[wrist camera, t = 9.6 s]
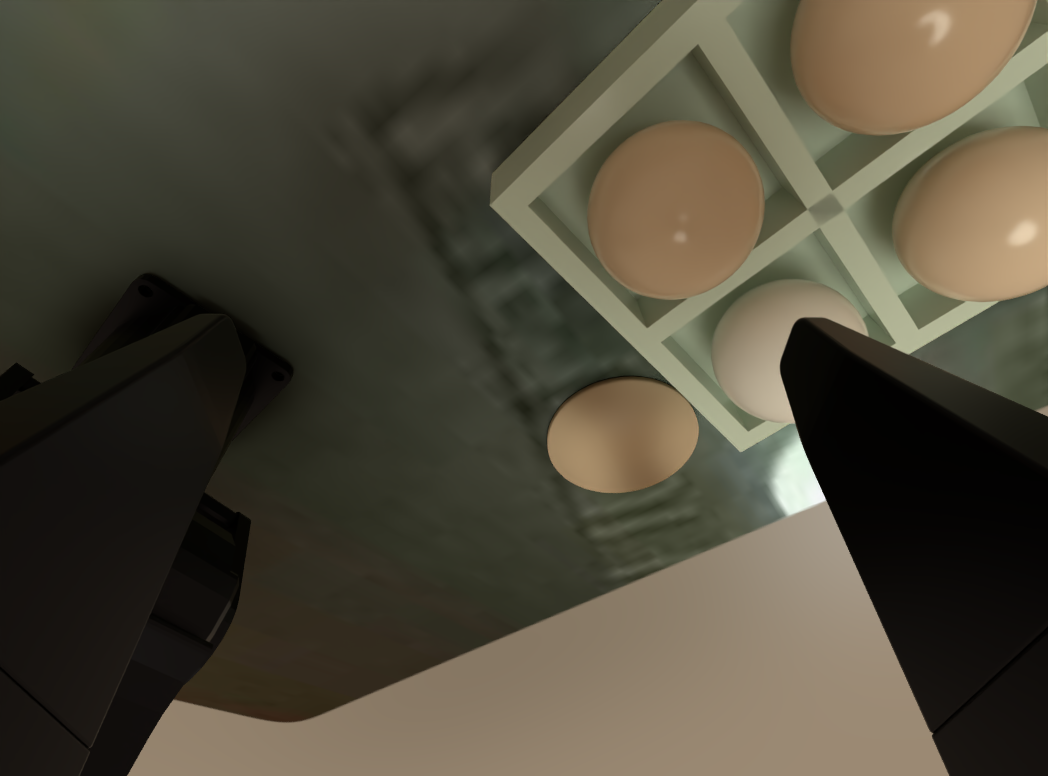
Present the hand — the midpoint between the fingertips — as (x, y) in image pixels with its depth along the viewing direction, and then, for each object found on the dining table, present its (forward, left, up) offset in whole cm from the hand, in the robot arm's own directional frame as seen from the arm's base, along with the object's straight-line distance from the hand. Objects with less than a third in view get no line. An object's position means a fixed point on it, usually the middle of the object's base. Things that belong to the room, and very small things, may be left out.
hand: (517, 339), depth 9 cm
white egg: (+2, -11, -11) cm, 16 cm away
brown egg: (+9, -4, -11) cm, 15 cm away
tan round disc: (-6, -13, -12) cm, 19 cm away
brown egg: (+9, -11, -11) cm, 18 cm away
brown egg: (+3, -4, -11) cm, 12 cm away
